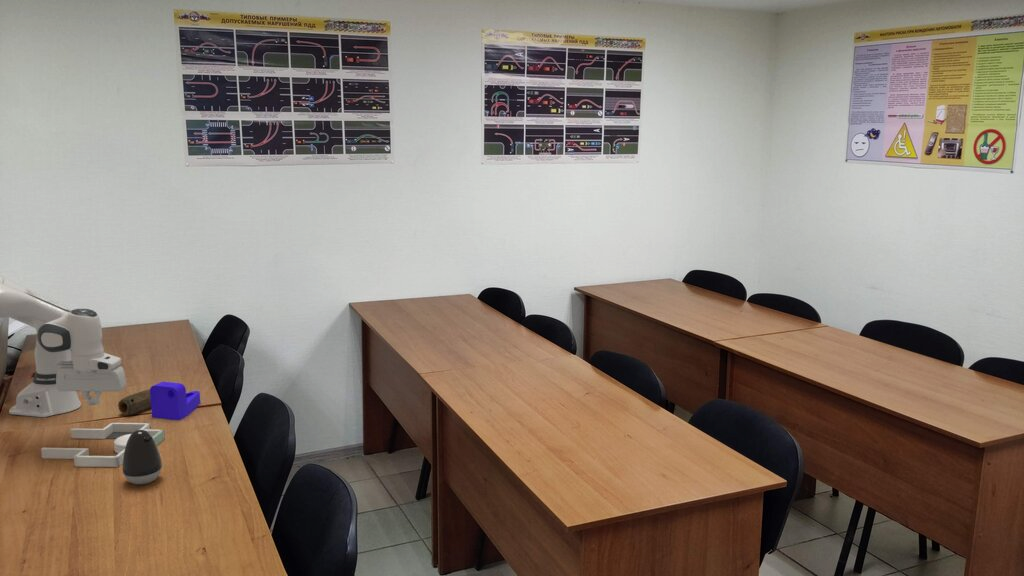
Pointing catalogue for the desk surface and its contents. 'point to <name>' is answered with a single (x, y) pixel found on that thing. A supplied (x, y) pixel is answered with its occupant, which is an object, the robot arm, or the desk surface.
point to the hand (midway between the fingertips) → (93, 404)
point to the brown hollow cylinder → (135, 403)
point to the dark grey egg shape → (141, 458)
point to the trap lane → (108, 432)
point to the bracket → (172, 401)
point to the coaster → (121, 443)
